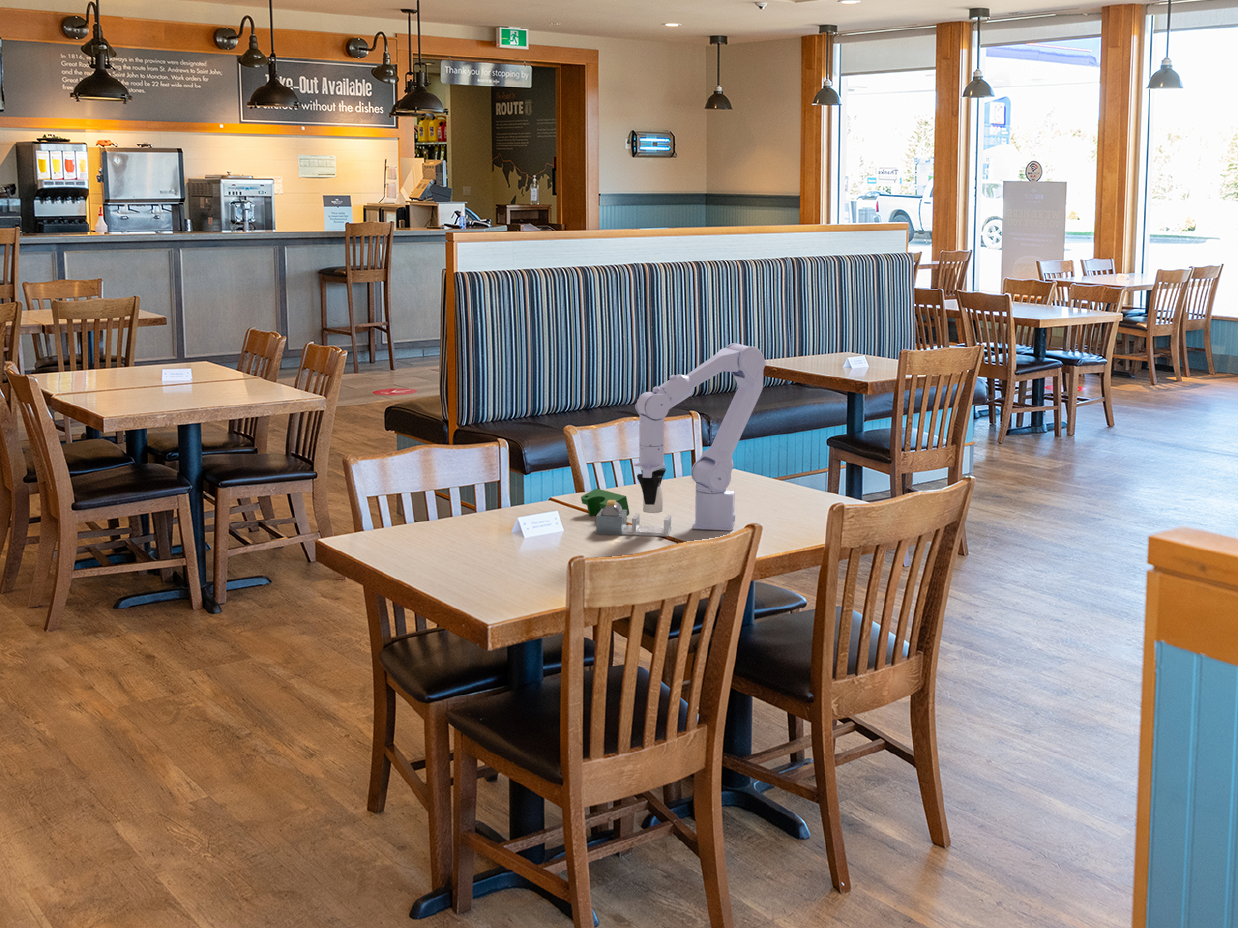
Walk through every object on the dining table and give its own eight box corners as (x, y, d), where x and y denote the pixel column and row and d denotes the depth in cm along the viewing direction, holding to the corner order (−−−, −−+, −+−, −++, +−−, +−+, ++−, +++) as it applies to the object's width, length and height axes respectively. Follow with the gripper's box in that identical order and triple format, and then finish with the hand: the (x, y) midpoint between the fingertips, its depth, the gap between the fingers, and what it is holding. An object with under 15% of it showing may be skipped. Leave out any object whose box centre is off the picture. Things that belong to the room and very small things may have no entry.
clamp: (590, 531, 305) (574, 499, 305) (608, 522, 309) (592, 489, 308) (616, 523, 296) (600, 489, 295) (634, 513, 299) (618, 479, 299)
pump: (649, 507, 289) (650, 479, 288) (666, 510, 287) (666, 481, 286) (639, 511, 286) (639, 483, 284) (656, 514, 283) (656, 485, 282)
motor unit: (671, 529, 290) (671, 499, 289) (667, 537, 283) (667, 506, 282) (601, 526, 293) (601, 497, 292) (596, 534, 286) (596, 504, 285)
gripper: (639, 438, 291) (639, 494, 294) (629, 449, 277) (629, 508, 280) (669, 439, 290) (668, 495, 292) (660, 450, 276) (660, 509, 278)
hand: (651, 501), depth 286 cm, fingers closed on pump, 4 cm apart
